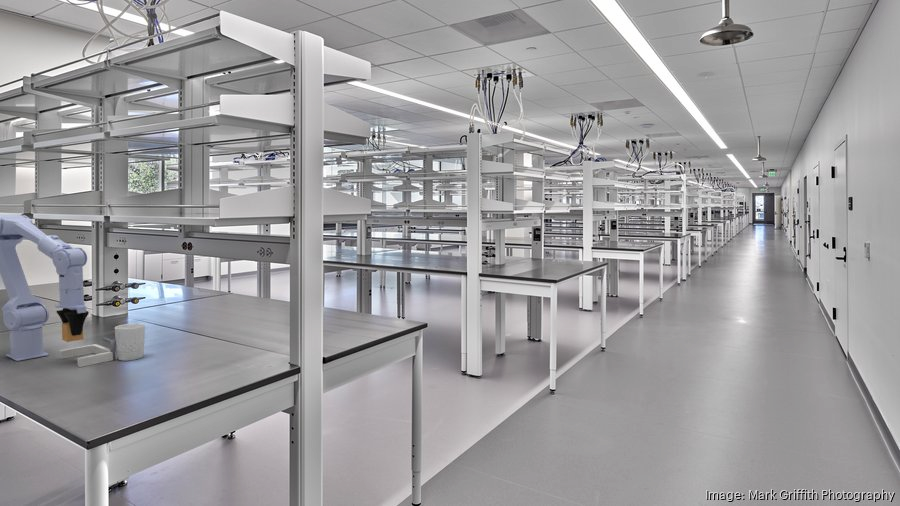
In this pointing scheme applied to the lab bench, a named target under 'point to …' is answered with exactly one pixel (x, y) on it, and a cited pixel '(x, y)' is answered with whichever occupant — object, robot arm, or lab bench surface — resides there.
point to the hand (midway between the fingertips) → (73, 333)
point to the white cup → (130, 341)
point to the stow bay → (101, 353)
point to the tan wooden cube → (69, 333)
